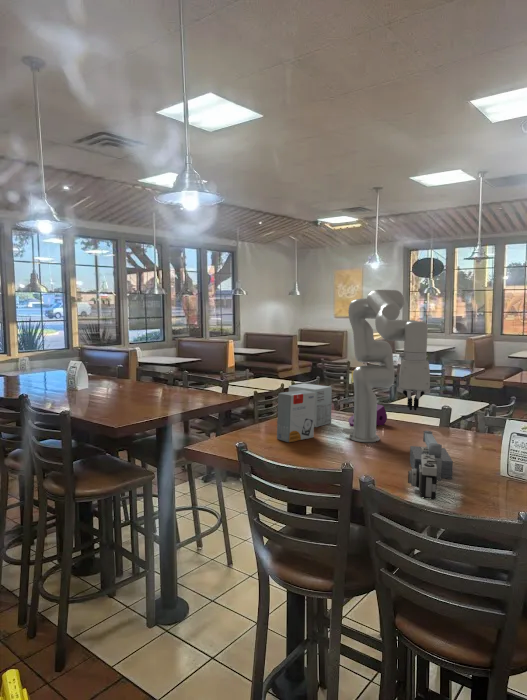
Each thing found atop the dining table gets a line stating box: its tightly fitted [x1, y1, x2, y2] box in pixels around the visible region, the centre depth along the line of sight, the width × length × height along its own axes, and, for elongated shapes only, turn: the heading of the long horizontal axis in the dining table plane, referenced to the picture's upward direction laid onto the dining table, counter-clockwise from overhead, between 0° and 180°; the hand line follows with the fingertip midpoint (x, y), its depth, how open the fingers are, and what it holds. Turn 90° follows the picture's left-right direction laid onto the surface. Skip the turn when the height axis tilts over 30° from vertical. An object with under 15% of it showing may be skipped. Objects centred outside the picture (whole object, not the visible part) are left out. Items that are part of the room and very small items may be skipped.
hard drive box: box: [276, 390, 315, 443], centre depth 214 cm, size 16×8×20 cm, turn 131°
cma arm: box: [422, 430, 443, 457], centre depth 173 cm, size 4×21×4 cm, turn 169°
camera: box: [407, 454, 438, 500], centre depth 155 cm, size 14×8×10 cm, turn 164°
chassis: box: [409, 445, 454, 482], centre depth 173 cm, size 12×19×8 cm, turn 169°
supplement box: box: [288, 383, 333, 428], centre depth 243 cm, size 17×13×18 cm
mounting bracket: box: [348, 403, 388, 428], centre depth 241 cm, size 9×8×18 cm
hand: (412, 409), depth 175 cm, fingers closed
